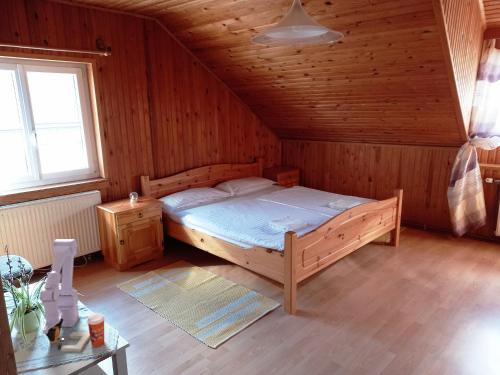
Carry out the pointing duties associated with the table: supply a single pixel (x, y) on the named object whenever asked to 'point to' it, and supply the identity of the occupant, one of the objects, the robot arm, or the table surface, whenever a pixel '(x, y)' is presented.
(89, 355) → the table surface
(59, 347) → the hook post
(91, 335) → the paper cup
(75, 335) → the beige u-shaped block
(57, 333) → the orange rounded cylinder
